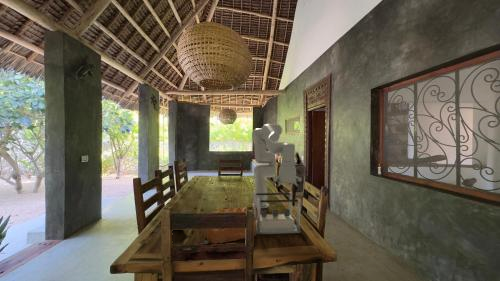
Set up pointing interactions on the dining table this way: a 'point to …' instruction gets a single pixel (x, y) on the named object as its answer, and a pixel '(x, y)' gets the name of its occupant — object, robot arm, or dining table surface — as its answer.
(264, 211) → the grey rectangular block
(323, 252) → the dining table surface
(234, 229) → the bread
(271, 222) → the switch box
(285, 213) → the grey matte cuboid
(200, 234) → the lantern
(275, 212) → the dark grey rectangular box
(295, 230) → the frame
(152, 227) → the dining table surface
